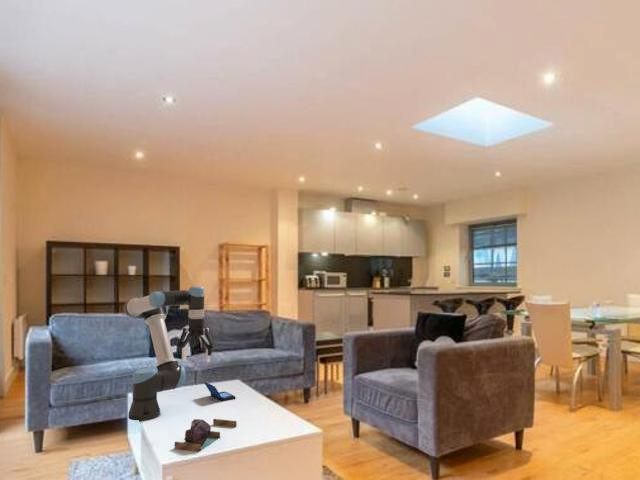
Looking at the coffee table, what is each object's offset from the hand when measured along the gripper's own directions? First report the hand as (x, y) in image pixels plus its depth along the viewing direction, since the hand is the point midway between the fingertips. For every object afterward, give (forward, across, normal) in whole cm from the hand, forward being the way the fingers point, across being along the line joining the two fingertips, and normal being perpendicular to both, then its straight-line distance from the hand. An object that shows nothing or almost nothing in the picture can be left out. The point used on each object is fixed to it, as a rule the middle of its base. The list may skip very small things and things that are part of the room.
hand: (195, 361), depth 221 cm
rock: (+29, +18, -24) cm, 41 cm away
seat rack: (+29, +17, -16) cm, 37 cm away
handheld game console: (+29, -10, +40) cm, 50 cm away
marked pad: (+29, +17, -24) cm, 41 cm away
